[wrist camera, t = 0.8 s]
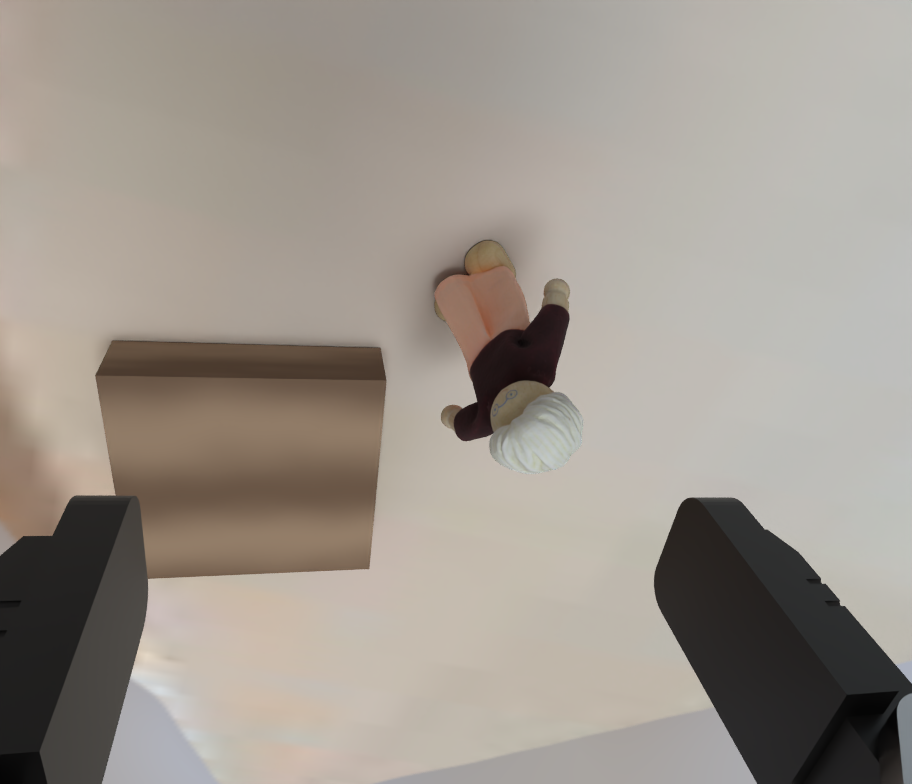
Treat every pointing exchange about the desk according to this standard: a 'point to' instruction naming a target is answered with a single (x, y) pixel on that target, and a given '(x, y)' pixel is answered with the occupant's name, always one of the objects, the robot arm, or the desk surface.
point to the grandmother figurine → (510, 363)
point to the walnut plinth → (246, 453)
